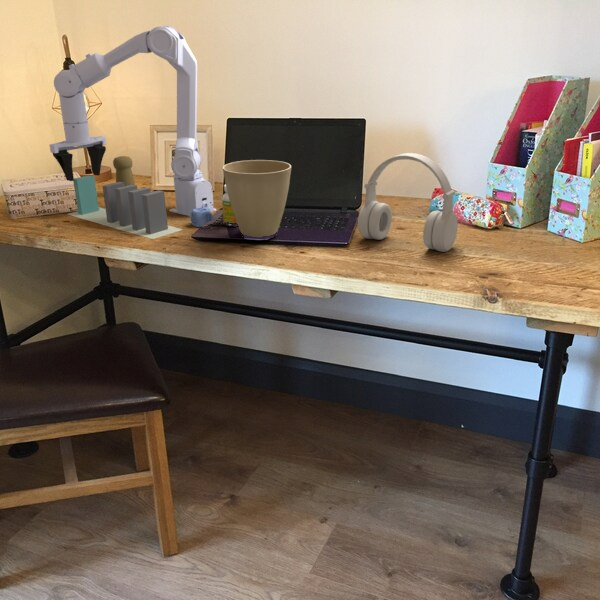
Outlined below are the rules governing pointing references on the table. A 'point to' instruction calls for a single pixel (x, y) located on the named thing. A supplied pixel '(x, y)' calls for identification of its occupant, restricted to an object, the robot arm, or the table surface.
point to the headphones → (437, 225)
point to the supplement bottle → (227, 208)
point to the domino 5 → (154, 212)
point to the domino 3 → (124, 204)
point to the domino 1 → (86, 194)
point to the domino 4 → (137, 207)
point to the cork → (123, 170)
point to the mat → (101, 218)
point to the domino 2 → (111, 201)
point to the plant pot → (257, 194)
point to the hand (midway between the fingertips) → (83, 177)
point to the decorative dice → (201, 216)
